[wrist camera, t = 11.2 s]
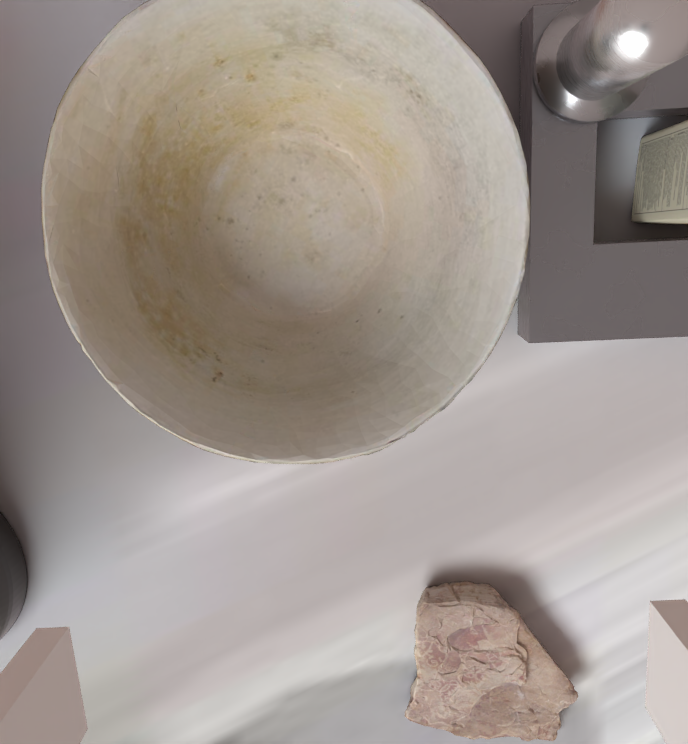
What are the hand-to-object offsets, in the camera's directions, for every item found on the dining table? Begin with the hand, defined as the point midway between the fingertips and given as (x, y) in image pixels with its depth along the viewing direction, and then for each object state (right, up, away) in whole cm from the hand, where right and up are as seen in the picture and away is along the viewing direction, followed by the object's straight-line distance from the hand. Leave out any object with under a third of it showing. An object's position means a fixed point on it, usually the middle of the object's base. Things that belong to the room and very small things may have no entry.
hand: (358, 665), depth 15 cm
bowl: (-3, +15, +26) cm, 30 cm away
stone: (+10, -14, +32) cm, 37 cm away
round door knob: (+13, +24, +23) cm, 35 cm away
